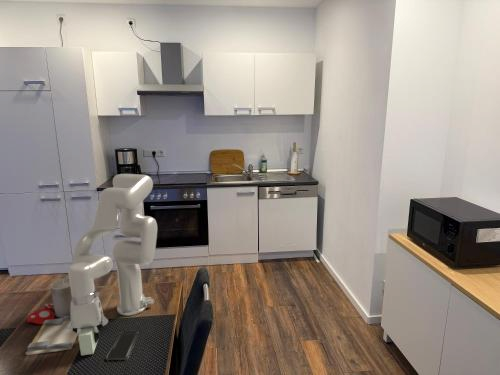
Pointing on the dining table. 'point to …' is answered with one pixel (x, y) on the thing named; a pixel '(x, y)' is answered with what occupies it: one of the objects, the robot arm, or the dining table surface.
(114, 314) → the dining table surface
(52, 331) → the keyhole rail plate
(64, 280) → the pillar candle
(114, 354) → the phone
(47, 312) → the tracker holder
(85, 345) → the sage panel block
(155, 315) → the dining table surface
